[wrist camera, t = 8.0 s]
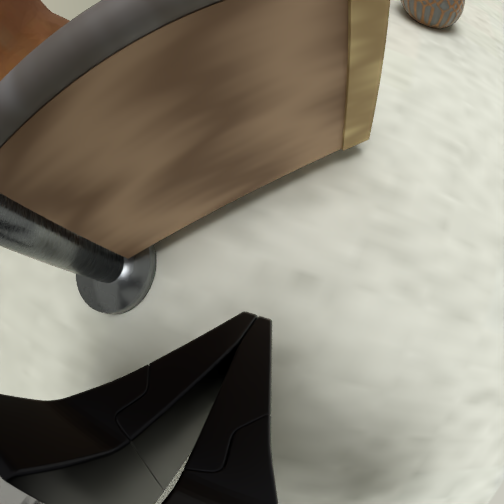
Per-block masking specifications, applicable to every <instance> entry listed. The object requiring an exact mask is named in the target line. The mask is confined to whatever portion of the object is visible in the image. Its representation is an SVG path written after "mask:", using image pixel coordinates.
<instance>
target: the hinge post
mask: <svg viewBox="0 0 504 504" xmlns="http://www.w3.org/2000/svg"><path fill="white" fill-rule="evenodd" d="M0 246H2V247H5V248H7V249H10V250H12V251H15V252H17V253H20V254H23V255H25V256H28V257H31V258H33V259H36V260H39V261H41V262H44V263H47V264H50V265H52V266H55V267H58V268H61V269H64V270H67V271H70V272H73V273H76V281H77V286H78V290H79V292H80V294H81V296H82V298H83V300H84V301H85V302H86V303H87V304H88V305H89V306H90V307H91V308H93V309H94V310H97V311H99V312H104V313H109V314H120V313H124V312H126V311H129V310H131V309H132V308H134V307H135V306H136V305H137V304H138V303H140V301H141V300H142V299H143V298H144V297H145V295H146V294H147V292H148V290H149V288H150V286H151V284H152V281H153V278H154V274H155V269H156V254H155V249H154V245H151V246H150V247H148V248H146V249H144V250H143V251H141V252H139V253H137V254H136V255H134V256H132V257H130V258H129V259H127V258H125V257H123V256H121V255H119V254H117V253H115V252H113V251H110V250H108V249H106V248H104V247H102V246H100V245H98V244H96V243H94V242H92V241H90V240H88V239H86V238H84V237H82V236H80V235H78V234H76V233H74V232H72V231H70V230H68V229H66V228H64V227H62V226H60V225H58V224H56V223H54V222H52V221H50V220H49V219H47V218H45V217H43V216H41V215H39V214H37V213H35V212H33V211H32V210H30V209H28V208H26V207H24V206H22V205H21V204H19V203H17V202H15V201H13V200H12V199H10V198H8V197H6V196H4V195H3V194H1V193H0Z"/></svg>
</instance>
